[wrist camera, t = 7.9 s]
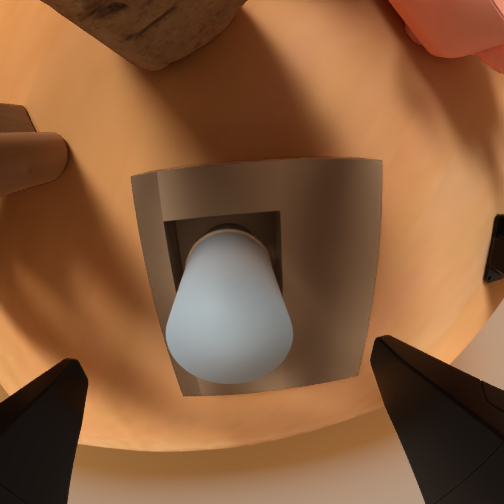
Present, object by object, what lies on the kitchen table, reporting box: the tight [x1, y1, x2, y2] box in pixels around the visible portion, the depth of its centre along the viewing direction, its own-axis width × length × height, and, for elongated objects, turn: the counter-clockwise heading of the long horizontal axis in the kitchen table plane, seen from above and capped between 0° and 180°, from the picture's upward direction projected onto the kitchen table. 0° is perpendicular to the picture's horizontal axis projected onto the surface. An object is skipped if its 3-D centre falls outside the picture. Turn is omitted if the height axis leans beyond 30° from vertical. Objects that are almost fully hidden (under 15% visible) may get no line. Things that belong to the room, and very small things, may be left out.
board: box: [131, 157, 382, 396], centre depth 16 cm, size 12×14×3 cm
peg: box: [166, 223, 293, 384], centre depth 12 cm, size 4×4×8 cm
